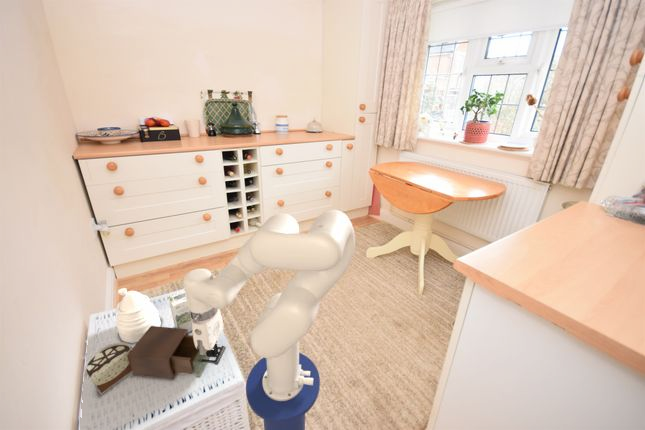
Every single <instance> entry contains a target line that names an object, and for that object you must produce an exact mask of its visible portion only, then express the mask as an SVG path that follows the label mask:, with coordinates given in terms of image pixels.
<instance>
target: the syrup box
mask: <svg viewBox="0 0 645 430" xmlns="http://www.w3.org/2000/svg"><path fill="white" fill-rule="evenodd" d="M168 302H169V307H170V311H171V316H172V320H173V325H174V328H179V329H188V334H189V333H191V332H192V319H191V317H190V312H189V307H188V303H187V298H186V294H185V291H182V292H179V293H177V294H174V295H171V296H169V297H168Z"/></svg>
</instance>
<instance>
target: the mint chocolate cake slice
mask: <svg viewBox="0 0 645 430" xmlns="http://www.w3.org/2000/svg"><path fill="white" fill-rule="evenodd" d="M133 347H134V346H132V345H131V344H130V343H128V342H114V343H111V344H108V345H106V346H104V347H102V348H100V349H98V350H97V351H95V353H93V354H92V355H91V356H90V357H89V358H88V360H87V361H86V364H85V366H84V378H85V380H86V381H88V380H90V381H91V383H92V384H93V386H94V387H95V388H96V390H97V392H99V394H100V395H103V394H104V393H106V392H107V391H108V390H110V389H111V388H112V387H114V386H115V385H116V384H118V383H119V382H120V381H122V380H123V379H124V378H126V377H127V376H129V375H130V374H132V373H133V372H132V369H131V366H130V363H129V360H128V357H127V355H128V353H129V352H130V351H131V350H132V348H133ZM88 378H89V379H88Z"/></svg>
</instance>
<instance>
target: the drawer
mask: <svg viewBox="0 0 645 430" xmlns="http://www.w3.org/2000/svg"><path fill="white" fill-rule="evenodd" d="M226 348H227V347H226V346H225V345H221V346H218V352H219V353H218V354H217V357H215V359H211V357H207V355H206V353H205V355H200V349H199V348H198V349H196V347H195V344H194V340H193V334H189V335H185V336H184V338H183V339H182V341H181V342H180V344H179V345H178V347H177V349H176V350H175V352H174V353H173V355H172V356H171V358H170V362H171V366H172V370H173V372H174V373H176V374H184V375H194V374H195V379H200V378H201V376H202V375H203V372H204V371H205V369H206V366H207V365H208V364H213V365H215V366H218V365H219V363H220V361H221V359H222V357H223V355H224V352H225V350H226Z"/></svg>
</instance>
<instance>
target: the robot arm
mask: <svg viewBox="0 0 645 430" xmlns="http://www.w3.org/2000/svg"><path fill="white" fill-rule="evenodd" d="M354 229H355V228H354V226H353V223H352V222H351V220H350V219H349V217H348V216H347V215H346V213H344V212H342V211H340V210H338V209H329V210H326V211H323V212H322V213H321V214H320V215H318V216H317V217H316V218H315V220H314V221H313V223H312V224H311V226H310V227H309V229H308V231H307V233H306V232H300V225H299V223H298V221H297V220H296V219H295V218H294V217H293V216H292V215H290V214H289V213H283V212H281V213H276V214H274V215H272V216H270V217H269V218H268V219H267V220H266V221H265V222H263V224H262V225H261V226H260V227H259V228H258V229H257V230H256V231H255V232H254V233H253V235H252V236H250V237H249V238H248V240H246V242H245V243H244V244H243V245H242V246H241V247H240V248H239V250H238V252H237V254H236V255H234V257H233V258H232V259H231V260H230V261H228V263H227V264H226V265H225V266H224V267H223V269H221V270H220V271H219V273H218V274H216V276H215V277H213V274H212V272H211V270H209V269H207V268H195V269H192V270H189V272H187V273H186V274H185V275H184V277H183V280H182V284H183V289H184V292H185V294H186V298H187V303H188V307H189V312H190V317H191V319H192V331H191V332H192V335H193V340H194V344H195V347H196V349H198V348H199V349H200V355H205V353H206V355H207V357H210V358H216V357H217V355H218V353H219V350H218V347H219V346H218V340H219V337H220V336H221V333H222V332H223V329H224V321H223V317H222V316H223V315H222V312H221V310H224V309H226V308H227V307H228V306H230V305H231V303H232V302H233V301H234V299H235V298H236V296H237V295H238V293H239V292H240V291H241V289H242V288H243V287H244V286H245V284H246V283H247V282H248V281H249V280H250V279H251V277H253V276H254V275H260V274H264V273H265V272H266V271H267V270H268V269H271V270H281V271H298V272H297V273H296V274H295V275H294V276H293V277H292V278H291V279H290V280H289V281H288V282H287V283H286V285H285V286H284V288H283V290H282V292H281V291H280V292H277V293H275V294H274V295H273V296H271V297H270V299H269V300H268V301H267V303H266V305H265V306H264V308H263V309H262V311H261V313H260V315H259V317H258V319H257V321H256V322H255V324H254V326H253V328H252V330H251V332H250V335H249V337H250V338H249V342H250V346H251V348H252V350H253V352H254V353H255V354H256V355H257V356H259V357H261V358H266V362H267V370H266V372H265V374H264V376H263V389H264V391H265V393H266V394H267V396H268V397H270V398H271V399H273V400H277V401H286V400H290V399H292V398H294V397H295V396H296V395H297V394H299V392H300V391H301V389H302V387H303V384H307V385H313V378H304V376H310V371H303V370H302V369H301V365H300V364H299V353H300V340H302V339H303V338H304V337H305V336H306V335H307V334H308V332H309V331H310V330H311V328H312V327H313V324H314V323H315V320H316V318H317V314H318V311H319V307H320V305H321V302H322V300H323V299H324V297H325V296H326V295H327V294H328V293H329V292H330V291H331V290H332V289H333V288H334V286H335V285H337V283H338V282H339V281H340V280H341V278H343V276H344V275H345V274H346V272H347V270H348V269H349V267H350V265H351V263H352V260H353V257H354V253H355V249H356V233H355V230H354Z"/></svg>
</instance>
